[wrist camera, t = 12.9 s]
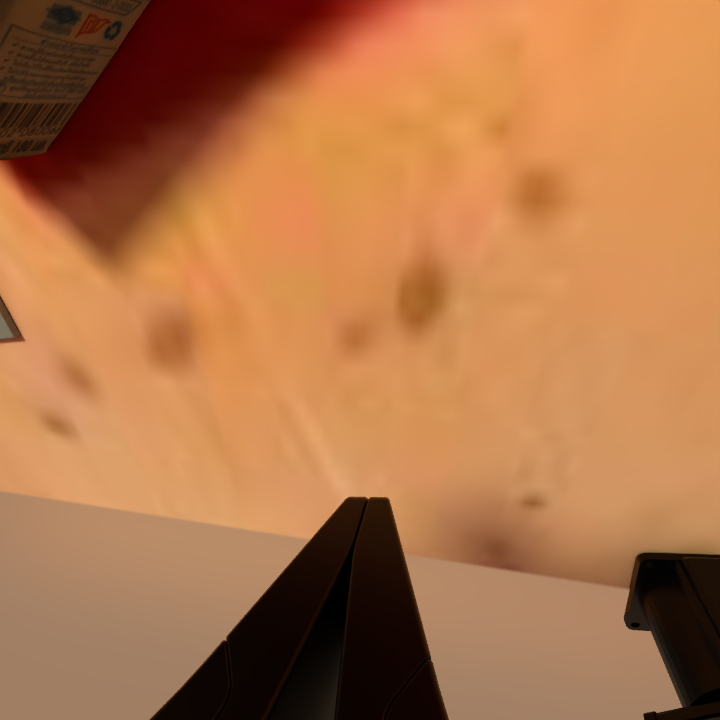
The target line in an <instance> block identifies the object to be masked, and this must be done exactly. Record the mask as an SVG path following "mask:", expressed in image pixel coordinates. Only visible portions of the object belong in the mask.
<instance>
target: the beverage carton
mask: <svg viewBox="0 0 720 720" xmlns="http://www.w3.org/2000/svg"><path fill="white" fill-rule="evenodd" d="M150 1H151V0H0V160H8V159H11V158H15V157H25V156H33V155H38V154H42V153H45V152H46V151H47V149H48V147H49V146H50V144H51V143H52V141H53V140H54V139H55V138H56V137H57V135H58V134H59V133H60V131H61V130H62V129H63V127H64V126H65V124H66V123H67V122H68V120H69V119H70V117H71V116H72V115H73V113H74V112H75V110H76V109H77V108H78V106H79V105H80V104H81V102H82V101H83V99H84V98H85V96H86V95H87V93H88V92H89V91H90V89H91V88H92V86H93V85H94V83H95V82H96V80H97V79H98V77H99V76H100V74H101V73H102V72H103V70H104V69H105V67H106V66H107V64H108V63H109V61H110V60H111V58H112V57H113V55H114V54H115V53H116V51H117V50H118V48H119V46H120V45H121V43H122V42H123V40H124V39H125V37H126V35H127V34H128V32H129V31H130V29H131V28H132V27H133V25H134V24H135V22H136V21H137V19H138V18H139V17H140V15H141V14H142V12H143V11H144V9H145V8H146V6H147V5H148V4H149V2H150Z"/></svg>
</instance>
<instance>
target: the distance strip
mask: <svg viewBox="0 0 720 720" xmlns="http://www.w3.org/2000/svg"><path fill="white" fill-rule="evenodd" d="M18 335H20V333H19V331H18V329H17V328H16V326H15V324H14V322H13V320H12V318H11V317H10V315H9V313H8V311H7V309H6V308H5V306H4V304H3V302H2V300H1V298H0V339H4V338H15V337H17V336H18Z"/></svg>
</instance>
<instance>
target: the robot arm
mask: <svg viewBox="0 0 720 720" xmlns="http://www.w3.org/2000/svg"><path fill="white" fill-rule="evenodd" d="M624 621H625V624H626V626H627V627H628V628H629V629H632V630H644V631H651V632H652V635H653V637H654V640H655V642H656V645H657V647H658V649H659V652H660V654H661V656H662V659H663V661H664V664H665V666H666V669H667V671H668V673H669V676H670V678H671V681H672V683H673V685H674V688H675V690H676V693H677V695H678V697H679V700H680V702H681V705H682V707H683V708H679V709H674V710H669V711H665V712H660V713H656V712H649V713H645V714H644V720H720V555H695V554H665V553H643V554H640V555H639V556H638V557H637V559H636V564H635V569H634V573H633V578H632V583H631V587H630V592H629V597H628V601H627V606H626V611H625V615H624ZM226 640H227V641H225V640H224V641H222V642H221V643H220V645H219V646H218V647H217V648H216V649H215V650H214V651H213V653H212V654H211V655H210V656H209V657H208V658H207V659H206V661H205V662H204V663H203V664H202V665H201V666H200V667H199V668H198V670H197V671H196V672H195V673H194V674H193V675H192V676H191V677H190V678H189V679H188V680H187V682H186V683H185V684H184V685H183V686H182V687H181V688H180V689H179V690H178V691H177V692H176V693H175V694H174V695H173V696H172V697H171V698H170V700H168V701H167V702H166V704H164V705H163V707H162V708H161V709H160V710H159V711H158V712H157V713H156V714H155V715H154V716H153V717H152V718H151V719H150V720H449V719H448V715H447V712H446V709H445V706H444V702H443V699H442V696H441V692H440V689H439V685H438V681H437V678H436V674H435V670H434V666H433V663H432V661H431V656H430V652H429V648H428V644H427V641H426V637H425V633H424V629H423V625H422V621H421V618H420V614H419V611H418V606H417V603H416V599H415V595H414V591H413V587H412V584H411V580H410V576H409V572H408V568H407V565H406V561H405V557H404V553H403V549H402V545H401V542H400V538H399V534H398V530H397V526H396V523H395V519H394V515H393V511H392V507H391V504H390V500H389V499H388V498H387V497H370V498H369V499H368V498H366V497H348V498H347V499H345V500H344V502H343V503H342V504H341V505H340V506H339V507H338V509H337V510H336V511H335V512H334V513H333V514H332V515H331V517H330V518H329V519H328V520H327V521H326V522H325V524H324V525H323V526H322V527H321V528H320V529H319V530H318V532H317V533H316V534H315V535H314V536H313V537H312V539H311V540H310V541H309V542H308V543H307V544H306V545H305V547H304V548H303V549H302V550H301V551H300V552H299V554H298V555H297V556H296V557H295V558H294V559H293V560H292V562H291V563H290V564H289V565H288V566H287V568H286V569H285V570H284V571H283V572H282V573H281V574H280V575H279V577H278V578H277V579H276V580H275V581H274V582H273V584H272V585H271V586H270V587H269V588H268V589H267V590H266V592H265V593H264V594H263V595H262V596H261V597H260V599H259V600H258V601H257V602H256V603H255V604H254V605H253V607H252V608H251V609H250V610H249V611H248V612H247V614H246V615H245V616H244V617H243V618H242V619H241V620H240V622H239V623H238V624H237V625H236V626H235V627H234V629H233V630H232V631H231V632H230V633H229V634H228V635H227V637H226Z"/></svg>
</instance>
